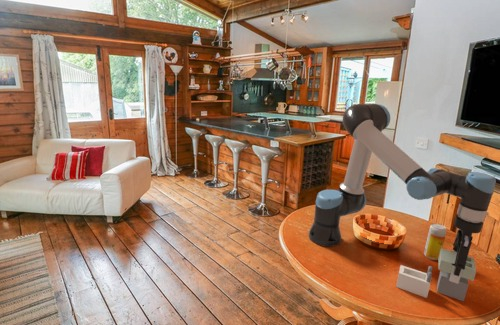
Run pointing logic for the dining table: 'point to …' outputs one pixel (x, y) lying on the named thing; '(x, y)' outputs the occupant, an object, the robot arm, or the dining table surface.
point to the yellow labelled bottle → (435, 241)
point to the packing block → (452, 286)
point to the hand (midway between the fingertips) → (453, 274)
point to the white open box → (414, 280)
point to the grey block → (449, 257)
